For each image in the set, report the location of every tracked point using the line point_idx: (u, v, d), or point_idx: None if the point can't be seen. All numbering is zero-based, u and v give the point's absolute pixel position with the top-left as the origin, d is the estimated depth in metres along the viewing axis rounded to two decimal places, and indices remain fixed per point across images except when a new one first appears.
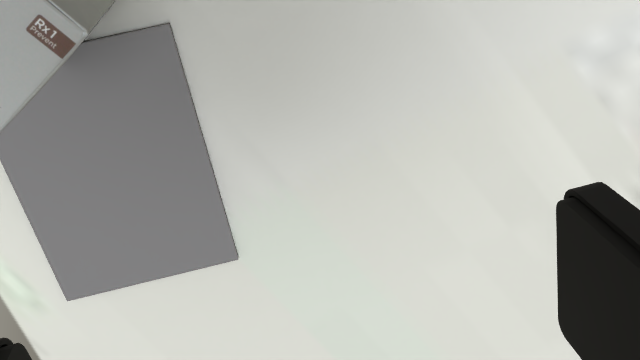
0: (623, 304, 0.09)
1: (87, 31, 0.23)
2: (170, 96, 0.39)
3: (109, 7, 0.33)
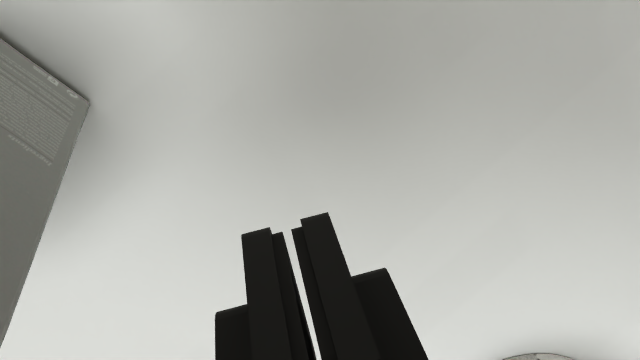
0: None
1: None
2: None
3: None
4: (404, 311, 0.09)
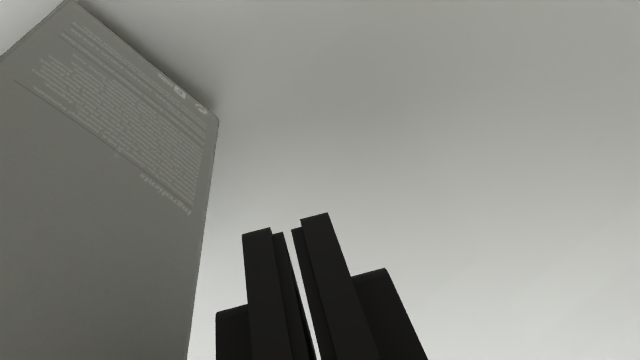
0: None
1: None
2: None
3: None
4: (404, 311, 0.09)
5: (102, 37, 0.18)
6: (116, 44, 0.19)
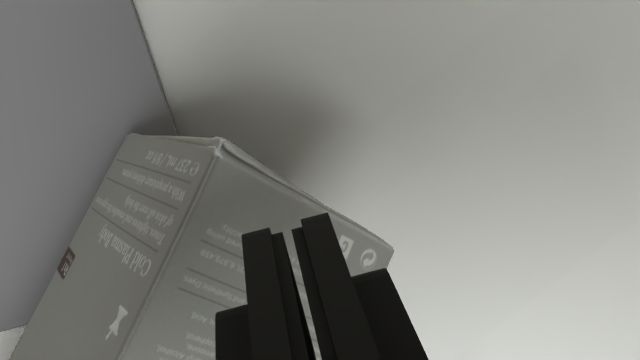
0: None
1: None
2: None
3: None
4: (404, 311, 0.09)
5: (246, 226, 0.14)
6: (267, 219, 0.15)
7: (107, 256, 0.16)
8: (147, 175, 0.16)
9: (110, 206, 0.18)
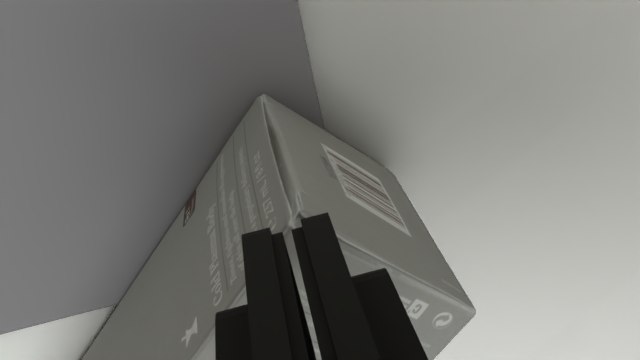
0: None
1: None
2: None
3: None
4: (404, 311, 0.09)
5: None
6: None
7: (205, 245, 0.17)
8: (248, 183, 0.17)
9: (223, 184, 0.19)
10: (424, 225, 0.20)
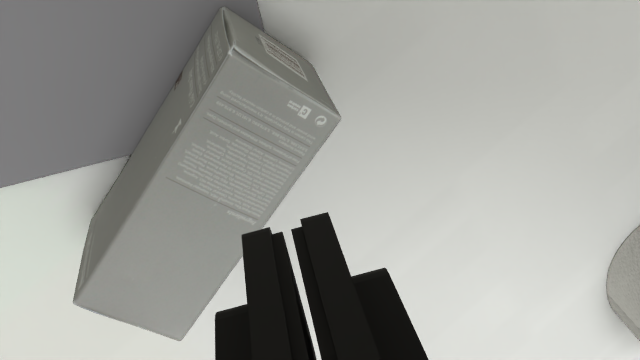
0: None
1: None
2: None
3: None
4: (404, 311, 0.09)
5: (243, 93, 0.27)
6: (256, 90, 0.27)
7: (186, 88, 0.29)
8: (210, 47, 0.29)
9: (197, 56, 0.31)
10: (323, 85, 0.32)
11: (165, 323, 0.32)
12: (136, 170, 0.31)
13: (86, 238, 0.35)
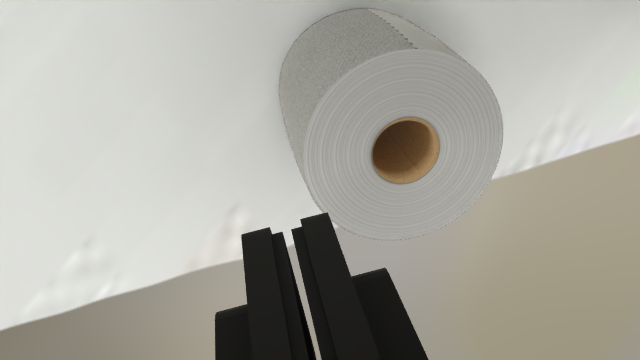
0: None
1: None
2: None
3: None
4: (404, 311, 0.09)
5: None
6: None
7: None
8: None
9: None
10: None
11: None
12: None
13: None
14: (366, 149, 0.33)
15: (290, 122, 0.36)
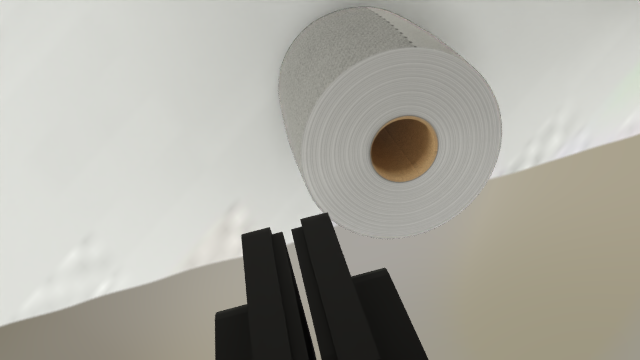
0: None
1: None
2: None
3: None
4: (404, 311, 0.09)
5: None
6: None
7: None
8: None
9: None
10: None
11: None
12: None
13: None
14: (365, 147, 0.33)
15: (289, 120, 0.36)
